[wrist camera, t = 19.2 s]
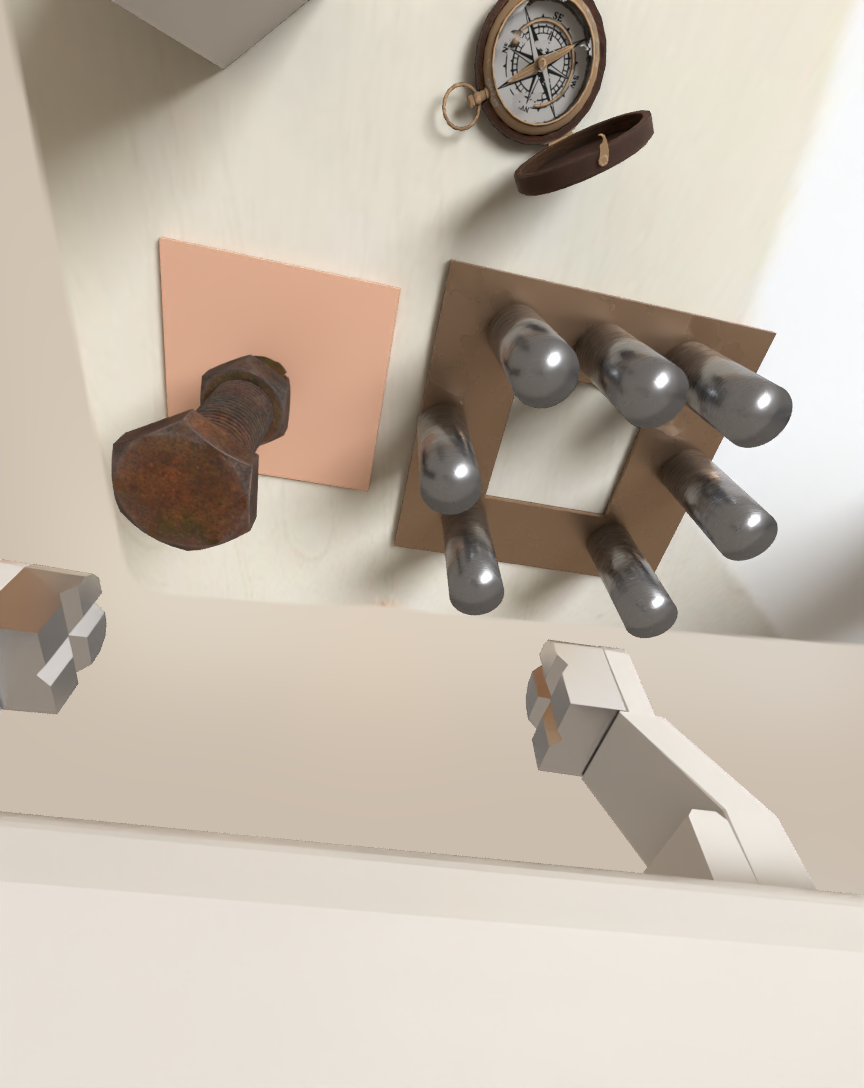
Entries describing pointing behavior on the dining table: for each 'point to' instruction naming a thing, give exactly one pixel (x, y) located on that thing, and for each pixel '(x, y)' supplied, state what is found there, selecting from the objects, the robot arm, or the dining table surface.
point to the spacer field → (638, 394)
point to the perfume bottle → (214, 23)
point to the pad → (284, 351)
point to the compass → (550, 91)
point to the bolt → (204, 457)
